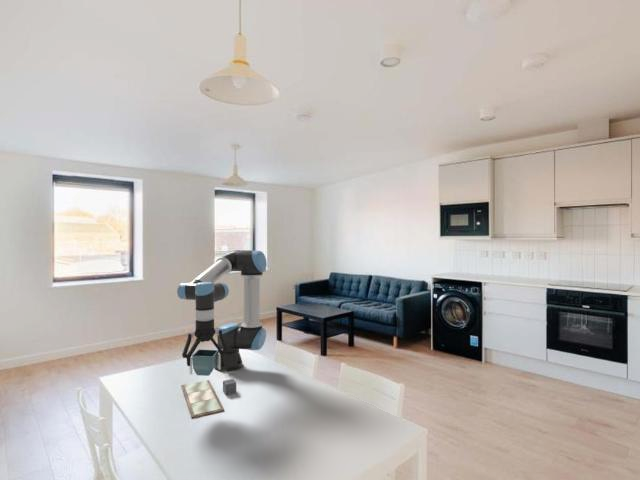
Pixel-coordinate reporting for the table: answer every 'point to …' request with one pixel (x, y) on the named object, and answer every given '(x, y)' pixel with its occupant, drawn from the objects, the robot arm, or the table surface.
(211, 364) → the flower pot
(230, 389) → the gray block
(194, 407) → the board
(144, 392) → the table surface
